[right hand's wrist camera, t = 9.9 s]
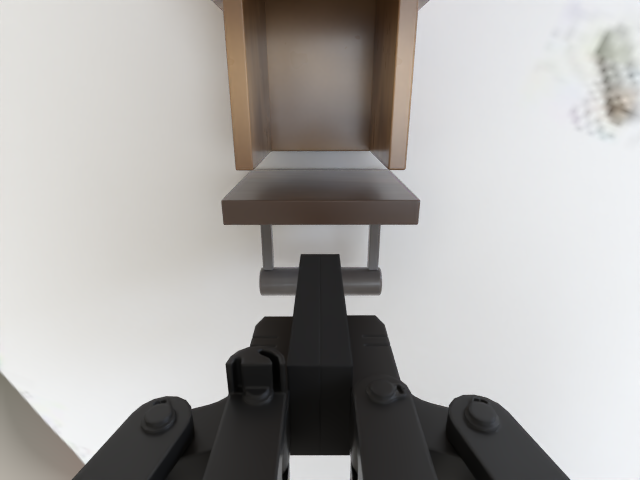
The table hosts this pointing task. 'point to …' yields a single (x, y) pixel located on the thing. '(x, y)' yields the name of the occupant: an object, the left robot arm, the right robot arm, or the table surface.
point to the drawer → (320, 120)
